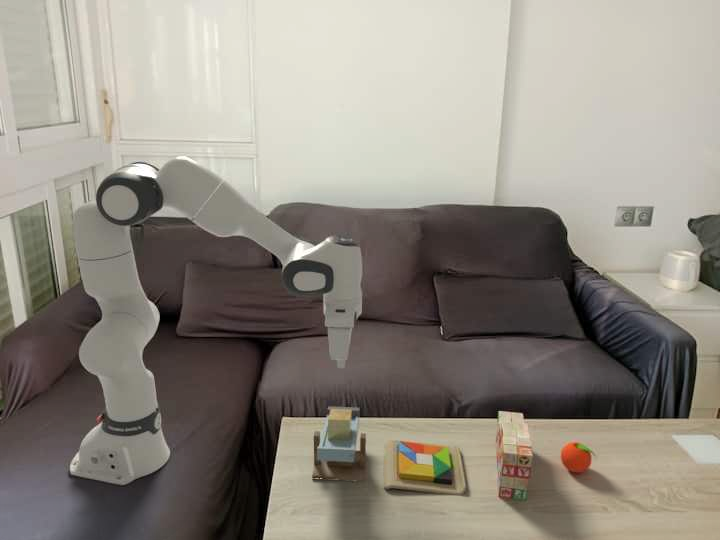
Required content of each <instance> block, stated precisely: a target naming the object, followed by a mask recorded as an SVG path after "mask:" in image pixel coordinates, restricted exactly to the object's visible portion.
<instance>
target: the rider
mask: <svg viewBox="0 0 720 540" xmlns="http://www.w3.org/2000/svg"><path fill="white" fill-rule="evenodd" d="M351 419H352V410H346V409H331V410H330V414H329V418H328V440H342V441H349V440H350V434H351Z"/></svg>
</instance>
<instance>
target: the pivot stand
mask: <svg viewBox="0 0 720 540" xmlns="http://www.w3.org/2000/svg"><path fill="white" fill-rule="evenodd" d="M320 440H321V434H320V430H319V431H318V430H315V431H314V433H313V469H312V473H311V474H312V476H311V477H312V478H319V479H320V478H322V479H339V480H356V481H355V482H359V481H364V479H365V470H366V457H365V456H366V455H367V454H366V453H367V451H366V449H367V447H366V446H367V445H366V444H367V433H364V432H363V433H362V432H361V433H360V438H359V440H360V441H359V444H360V445H359V448H360V449H359V450H355V456H354V462H342V461H321V460H317V447H319V444H320ZM364 469H365V470H364ZM319 479H318V480H319ZM339 480H338V481H339ZM364 482H365V481H364Z"/></svg>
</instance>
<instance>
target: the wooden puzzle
mask: <svg viewBox="0 0 720 540" xmlns="http://www.w3.org/2000/svg"><path fill="white" fill-rule="evenodd" d="M384 446H385V455H384V454H383V476H384V480H383V483H382V484H383V485H382V487H383V489H384V488H385V490H389V489H400V490H408V491H416V492H426V493H431V494H432V493H433V494H441V495H457V496H459V495H460V496H462V495H463V494H465V492H466V489H467V484H466V483H467V482H466V478H465V473H464V466H463V460H462V456H461V455H462V454H461V449H460V445H459V444H454V445H451V446H449V445H441V444H432V443H423V442H415V441H407V440H399V439H398V440H397V439H389V440H387V441H386V442H385V443H384ZM384 456H385V457H384Z"/></svg>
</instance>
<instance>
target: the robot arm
mask: <svg viewBox="0 0 720 540" xmlns="http://www.w3.org/2000/svg"><path fill="white" fill-rule="evenodd" d="M166 207H167V208H171V209H174V210H175V211H177V212H179V213H181V214H182V215H183V216H185V217H186V218H187V219H188V220H189V221H191V222H192V223H194V224H195V225H197V226H198V227H199V228H200V229H202V230H204V231H206V232H207V233H210V234H212V235H213V236H215V237H219V238H227V237H229V238H230V237H232V236H235V237H237V236H240V237H245V238H248V239H250V240H252V241H254V242H256V243H257V244H258V245H259V246H261V247H263V248H264V249H265V250H267V251H268V252H270V253H271V254H273V255H274V256H275V257H277V258H278V259H279V261H280V263H281V265H282V270H281V282H282V285H283V287H284V289H285V290H286V291H287V293H289V294H290V295H293V296H295V297H298V298H310V297H316V296H321V295H323V315H324V326H325V327H326V328H327V338H328V339H327V340H328V348H329V350H328V351H329V356H330V358H331V360H332V361H336V367H337V368H338V369H344V368H345V367H346V360H347V359H348V358H349V357H348V356H349V350H350V349H349V348H350V344H351V336H352V330H353V328H354V327H355V324H356V323H357V322H356V321H357V320H358V318H359V317H360V316H361V315H362V312H363V309H362V305H363V292H362V288H361V287H362V286H361V281H362V278H363V259H362V257H363V256H362V250H361V248H360V245H359V243H357V242H356V240H354V239H352V238H349V237H347V236H344V235H343V236H342V235H332V236H328V237H326V239H325V240H324V241H321V242H320V243H319V244H318V243H317V242H315V241H313V240H311V239H308V238H303V237H300V236H297V235H294V234H293V233H291V232H289V231H287V230H286V229H285V228H284V227H282V226H281V225H279V224H278V223H276V222H275V221H274V220H273V219H271V218H269V217H268V216H267V215H265V214H264V213H262V212H261V211H259V210H258V209H257V207H255V206H254V205H253V204H252V203H251V202H249V201H248V200H247V198H245V197H244V196H243V195H242V194H241V193H240V192H239V191H238V190H237V189H235V187H233V186H232V185H231V184H230V183H229V182H227V181H226V180H224V179H223V178H222V177H221V176H219V175H218V174H216V173H215V172H213V171H212V170H210V169H209V168H207V167H206V166H204V165H202V163H199V162H197V161H195V160H194V159H191V158H189V157H187V156H183V155H181V156H176V157H173V158H170V159H169V160H168V161H167V162H166V163H164V164H163V165H162V167H161V168H160V169H159V168H158V167H157V166H156V165H155V164H152V163H149V162H144V161H134V162H132V163H131V162H130V163H129V164H127V165H124V166H120V167H119V168H117V169H116V170H114V171H113V172H112V174H111V173H110V174H109V175H107V176H106V177H105V178H104V179H103V180H102V181H101V183H100V184H99V186H98V188H97V190H96V194H95V200H92V201H87V202H85V203H83V204H81V205H80V206H78V207H77V208H76V209H75V211H74V214H73V217H72V221H73V222H72V223H73V227H72V228H73V239H74V241H73V242H74V247H75V253H76V259H77V262H78V266H79V271H80V275H81V280H82V285H83V289H84V291H85V293H86V294H87V295H89V296H90V297H92V298H94V299H95V300H96V302H97V304H98V306H99V308H100V310H101V320H100V321H98V322H97V323H96V324H95V325H94V326H93V327H92V328H91V329H90V330H89V331H88V332H87V333H86V335H85V337H84V339H83V341H82V343H81V344H80V346H79V350H78V357H79V360H80V363H81V365H82V366H83V368H84V370H85V369H86V370H87V372H89V373H90V374H92V375H95V376H97V377H98V380H99V382H100V384H101V386H102V390H103V391H102V392H103V397H104V403H105V408H104V409H103V410H102V411H101V412H100V415H99V416H98V417H97V419H96V422H97V423H96V424H97V425H96V426H95V427H93V428H92V429H91V430H90V431H89V432H88V433H87V434H86V435H85V437H84V438H83V440H82V441H81V443H80V446H79V451H78V452H77V453H76V454H75V455H74V457H73V458H72V460H71V463H70V465H69V474H70V475H72V476H75V477H76V476H77V477H80V478H84V479H89V480H95V481H99V482H105V483H109V484H113V485H119V486H125V485H128V484H130V483H132V482H133V481H134V480H136V479H139V478H141V477H145V476H149V475H150V474H152V473H154V472H156V471H158V470H159V469H160V468H162V467H163V466H165V464H166V463H167V462H168V460H169V458H170V456H171V450H170V448H169V446H168V445H167V442H166V439H165V437H164V434H163V430H162V429H163V428H162V416H161V409H160V404H159V402H158V400H157V391H156V383H155V377H154V374H153V372H152V371H150V370H149V369H148V368H146V366H145V364H144V361H143V352H144V348H145V347H146V345H147V344H149V342H150V341H151V340H152V338H153V337H154V336H155V334H156V332H157V329H158V327H159V323H160V320H161V319H160V312H159V310H158V307H157V305H155V304H154V303H153V302H152V301H151V300H149V299H148V297H147V295H146V293H145V291H144V289H143V287H142V284H141V281H140V277H139V273H138V269H137V263H136V259H135V253H134V248H133V243H132V238H131V232H130V231H131V226H135V225H138V224H141V223H143V222H144V221H146V220H148V219H149V218H150V217H151V216H153V215H155V214H156V213H158V212H159V211H161V210H162V208H166Z"/></svg>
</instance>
